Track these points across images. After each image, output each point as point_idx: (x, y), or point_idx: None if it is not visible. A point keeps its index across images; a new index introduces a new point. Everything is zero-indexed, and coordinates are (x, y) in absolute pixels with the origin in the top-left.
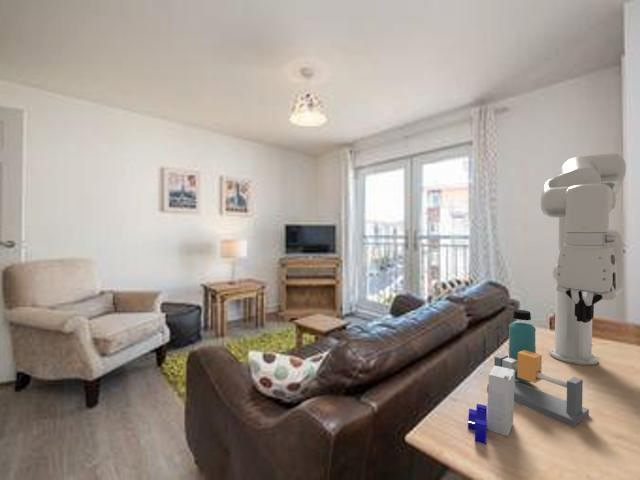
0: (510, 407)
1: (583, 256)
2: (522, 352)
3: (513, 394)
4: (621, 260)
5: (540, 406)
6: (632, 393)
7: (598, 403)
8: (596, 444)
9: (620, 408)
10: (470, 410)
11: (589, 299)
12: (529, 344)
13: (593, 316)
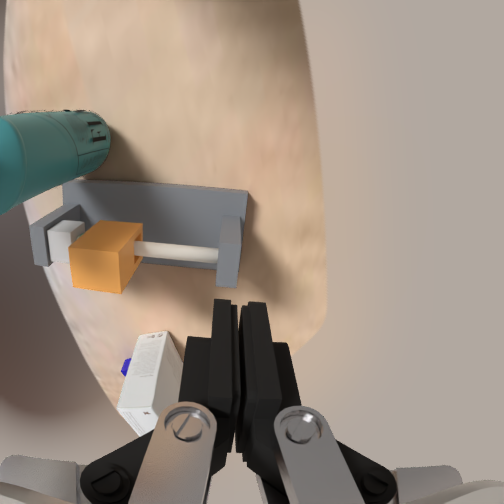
0: (177, 392)
1: None
2: (79, 277)
3: (164, 381)
4: None
5: (175, 265)
6: None
7: (248, 103)
8: (279, 290)
9: (289, 92)
10: (125, 374)
11: (288, 499)
12: (50, 177)
13: (287, 344)
